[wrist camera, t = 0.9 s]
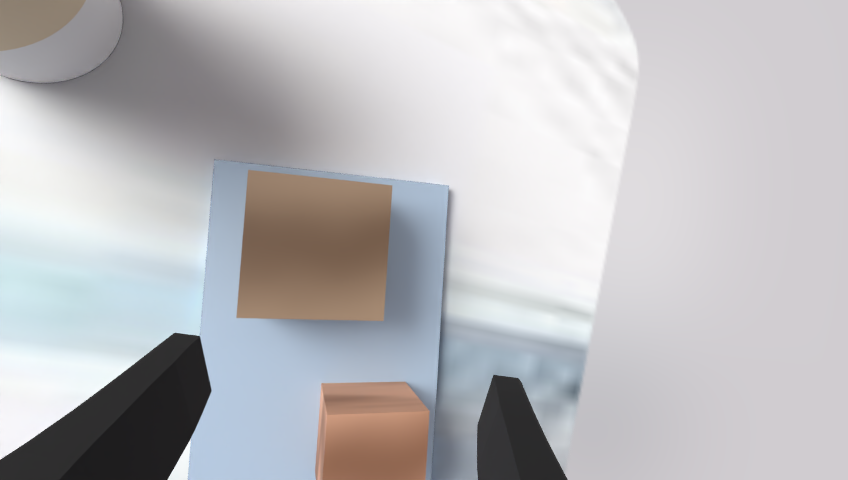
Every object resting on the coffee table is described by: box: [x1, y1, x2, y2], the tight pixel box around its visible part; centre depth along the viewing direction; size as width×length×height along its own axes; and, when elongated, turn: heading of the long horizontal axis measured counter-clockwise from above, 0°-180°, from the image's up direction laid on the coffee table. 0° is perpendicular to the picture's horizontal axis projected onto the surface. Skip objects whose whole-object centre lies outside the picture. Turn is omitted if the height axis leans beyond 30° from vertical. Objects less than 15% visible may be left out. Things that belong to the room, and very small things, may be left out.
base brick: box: [236, 170, 392, 321], centre depth 20 cm, size 6×6×4 cm
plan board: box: [188, 159, 449, 480], centre depth 23 cm, size 18×12×1 cm, turn 176°
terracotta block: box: [315, 382, 430, 480], centre depth 21 cm, size 4×4×4 cm
